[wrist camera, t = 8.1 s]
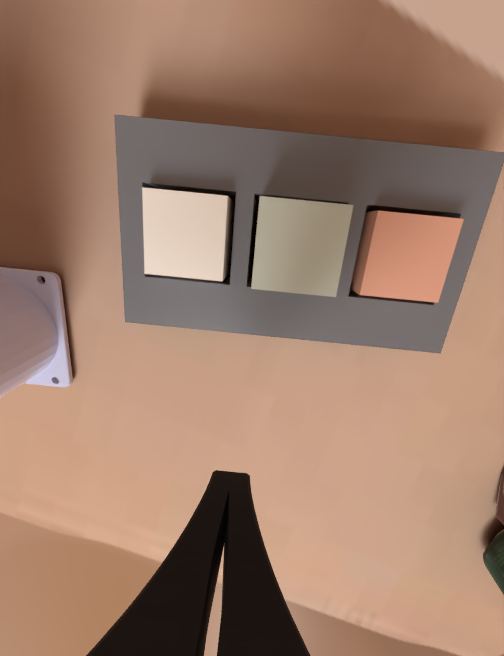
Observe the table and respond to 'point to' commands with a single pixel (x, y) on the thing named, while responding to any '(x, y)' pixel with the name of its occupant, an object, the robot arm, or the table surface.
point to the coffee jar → (496, 559)
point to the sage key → (300, 246)
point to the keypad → (301, 184)
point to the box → (500, 500)
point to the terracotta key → (404, 255)
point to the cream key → (187, 234)
